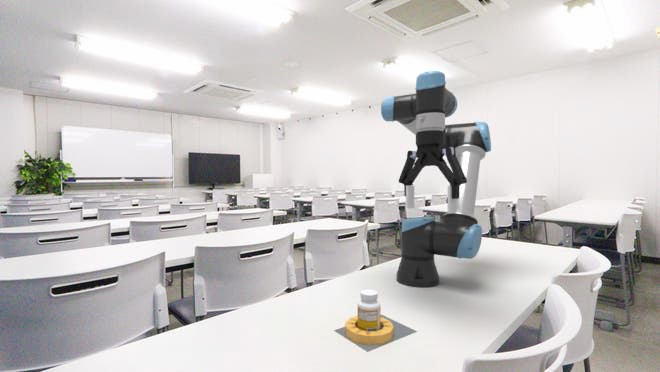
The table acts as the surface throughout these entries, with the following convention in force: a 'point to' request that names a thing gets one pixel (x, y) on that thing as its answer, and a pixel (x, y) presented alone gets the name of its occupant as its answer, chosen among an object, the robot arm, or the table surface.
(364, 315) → the supplement bottle
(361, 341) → the golden tan faceted ring
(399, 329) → the slate mat
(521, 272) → the table surface
